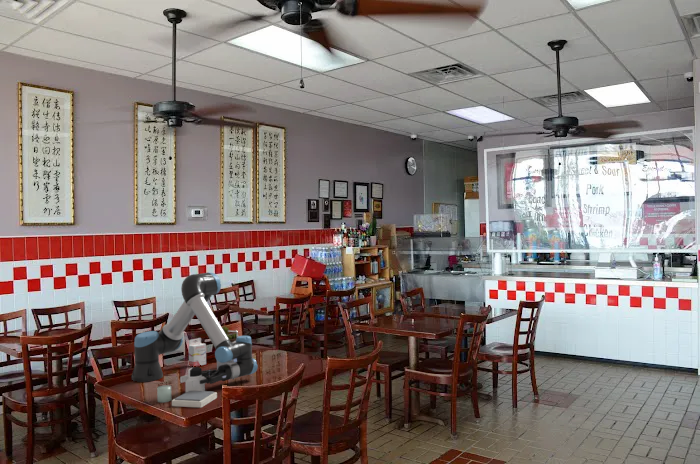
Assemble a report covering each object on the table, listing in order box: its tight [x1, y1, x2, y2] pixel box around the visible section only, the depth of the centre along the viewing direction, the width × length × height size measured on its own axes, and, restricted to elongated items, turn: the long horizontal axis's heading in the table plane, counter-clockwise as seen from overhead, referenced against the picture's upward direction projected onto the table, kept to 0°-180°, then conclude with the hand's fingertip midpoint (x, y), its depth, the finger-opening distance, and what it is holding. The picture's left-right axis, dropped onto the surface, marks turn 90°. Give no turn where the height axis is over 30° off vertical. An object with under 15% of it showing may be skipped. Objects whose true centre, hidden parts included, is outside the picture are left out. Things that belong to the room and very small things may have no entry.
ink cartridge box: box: [188, 337, 207, 368], centre depth 309 cm, size 9×5×15 cm, turn 141°
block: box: [156, 384, 173, 403], centre depth 244 cm, size 6×6×6 cm
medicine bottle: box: [184, 366, 206, 393], centre depth 252 cm, size 7×7×12 cm
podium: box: [171, 390, 218, 409], centre depth 240 cm, size 14×14×3 cm
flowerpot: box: [221, 324, 237, 343], centre depth 326 cm, size 14×15×20 cm
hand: (186, 381), depth 249 cm, fingers closed on medicine bottle, 10 cm apart
